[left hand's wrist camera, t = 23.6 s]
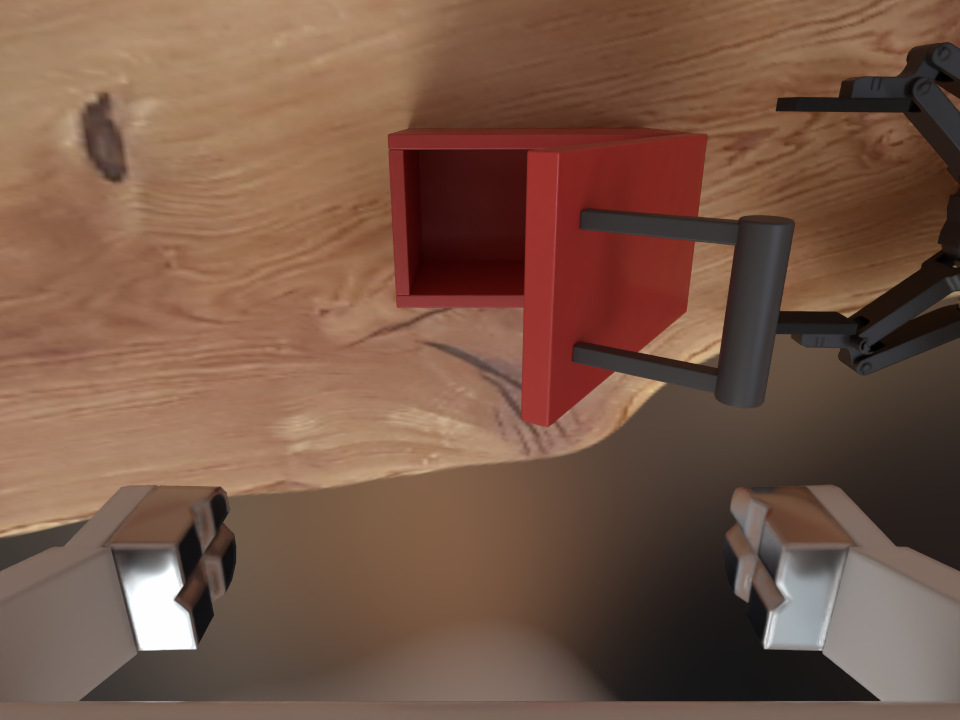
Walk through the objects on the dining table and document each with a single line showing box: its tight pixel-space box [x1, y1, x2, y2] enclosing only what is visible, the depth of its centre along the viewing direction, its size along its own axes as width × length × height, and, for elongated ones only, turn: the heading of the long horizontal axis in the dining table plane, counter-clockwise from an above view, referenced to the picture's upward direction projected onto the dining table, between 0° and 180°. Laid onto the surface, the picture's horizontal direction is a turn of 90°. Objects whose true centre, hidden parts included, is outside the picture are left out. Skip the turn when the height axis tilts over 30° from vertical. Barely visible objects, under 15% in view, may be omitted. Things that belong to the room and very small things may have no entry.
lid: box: [521, 133, 795, 427], centre depth 28 cm, size 18×10×8 cm
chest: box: [388, 128, 692, 308], centre depth 42 cm, size 17×10×10 cm, turn 90°
